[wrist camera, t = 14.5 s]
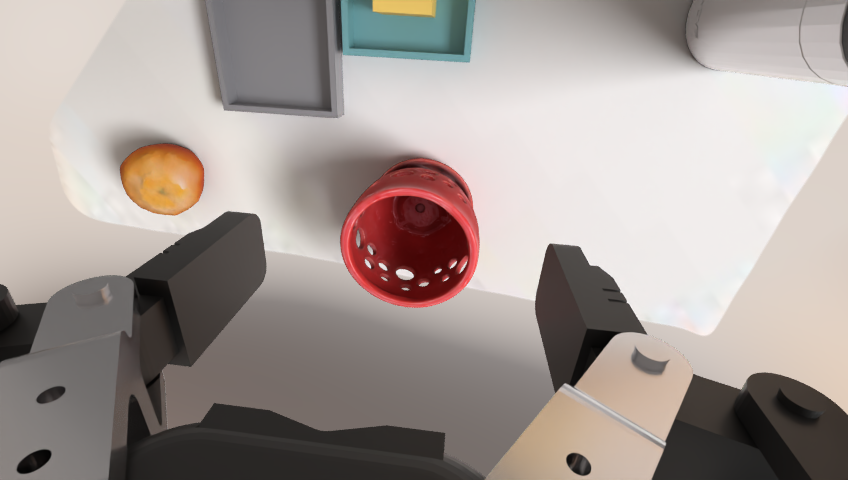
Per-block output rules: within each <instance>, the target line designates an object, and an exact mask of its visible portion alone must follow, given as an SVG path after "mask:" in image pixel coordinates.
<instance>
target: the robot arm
mask: <svg viewBox="0 0 848 480" xmlns="http://www.w3.org/2000/svg"><path fill="white" fill-rule="evenodd" d="M686 39H687V44H688V47H689V49H690V51H691V53H692V55H693V56H694V58H695V59H696V60H697V61H698V62H699V63H701V64H702V65H704V66H706V67H707V68H711V69H714V70H719V71H727V72H735V73H742V74H750V75H758V76H766V77H774V78H782V79H790V80H798V81H806V82H815V83H823V84H831V85H839V86H847V87H848V0H693V3H692V5H691V8H690V10H689V13H688V18H687V22H686ZM265 274H266V258H265V251H264V243H263V236H262V229H261V223H260V219H259V217H258V216H257V215H256V214H250V213H240V212H230V211H228V212H225V213H224V214H222V215H221V216H220V217H218V218H217V219H215V220H214V221H212V222H211V223H210V224H208V225H207V226H205V227H204V228H202V229H199V230H196V231H194V232H191V233H189V234H187V235H186V236H184V237H183V238H181V239H180V240H178V241H177V242H175V244H174V245H171V246H170V247H168V248H167V249H165V250H164V251H163V253H159V254H158V255H157V256H155V257H154V258H152V259H151V260H149V261H148V262H146V263H145V264H143V265H142V266H141V267H139V268H138V269H136V270H135V271H133V272H132V273H130V274H129V275H127V276H126V277H123V276H117V275H112V276H111V275H109V276H99V277H94V278H89V279H86V280H82V281H79V282H76V283H74V284H71V285H69V286H67V287H65V288H63V289H61V290H60V291H58V292H57V293H55V294H54V295H53V296H52V297H51V298H50V299H49V300H48V302H47V303H36V304H25V305H15V303H14V301H13V299H12V297H11V295H10V293H9V291H8V289H7V287H5V286H4V285H1V284H0V480H651V479H652V480H848V415H847V414H846V413H845V412H844V411H843V410H842V409H841V408H840V407H839V406H838V405H837V404H836V403H834V402H833V401H832V400H831V399H829V398H828V397H826V396H825V395H823V394H822V393H820V392H818V391H817V390H815V389H813V388H811V387H810V386H808V385H805V384H803V383H801V382H799V381H797V380H794V379H791V378H789V377H785V376H782V375H778V374H773V373H756V374H753V375H751V376H750V377H749V378H748V379H747V381H746V383H745V384H744V386H743V388H742V389H741V390H740V389H737V388H734V387H731V386H728V385H725V384H721V383H718V382H715V381H712V380H709V379H706V378H703V377H700V376H697V375H695V374H693V369H692V367H691V365H690V363H689V361H688V360H687V359H686V358H685V357H684V355H682V354H681V353H680V352H679V351H678V350H676V349H675V348H674V347H672V346H671V345H669V344H668V343H666V342H664V341H662V340H660V339H657V338H655V337H652V336H649V335H647V333H646V332H645V330H644V328H643V327H642V325H641V323H640V322H639V320H638V318H637V317H636V315H635V313H634V312H633V310H632V309H631V307H630V305H629V304H628V303H627V300H626V299H625V297H624V295H623V294H622V293H620V289H619V287H618V286H617V284H616V282H615V281H614V279H613V278H612V277H611V276H610V275H609V274H607V273H606V272H605V271H603V270H602V269H601V268H600V267H598V266H590V265H589V263H588V261H587V259H586V257H585V256H584V254H583V252H582V250H581V248H580V247H579V246H571V245H560V244H549V245H548V247H547V250H546V253H545V258H544V262H543V267H542V271H541V275H540V280H539V284H538V289H537V293H536V301H535V310H536V317H537V321H538V325H539V329H540V334H541V338H542V342H543V346H544V350H545V354H546V358H547V362H548V366H549V370H550V374H551V378H552V382H553V386H554V390H555V395H554V396H553V397H552V398H551V400H550V401H549V402H548V403H547V404H546V406H545V407H544V408H543V410H541V412H540V413H539V414H538V415H537V416H536V418H535V419H534V420H533V421H532V423H531V424H530V425H529V426H528V427H527V429H526V430H525V431H524V432H523V434H522V435H521V436H520V437H519V438H518V440H517V441H516V442H515V443H514V444H513V446H512V447H511V448H510V449H509V451H508V452H507V453H506V454H505V455H504V457H503V458H502V459H501V460H500V461H499V463H498V464H497V465H496V466H495V467H494V469H493V470H492V471H491V472H490V473H489V475H488V476H487V477H484V476H483V475H482V474H481V473H480V472H478V471H477V470H475V469H474V468H472V467H471V466H470V465H468V464H466V463H465V462H463V461H461V460H459V459H457V458H455V457H453V456H451V455H448V454H446V453H444V442H445V433H441V432H433V431H425V430H417V429H410V428H402V427H394V426H377V427H368V428H357V429H348V430H338V431H319V430H316V429H313V428H311V427H309V426H306V425H304V424H302V423H299V422H297V421H294V420H291V419H289V418H287V417H284V416H282V415H280V414H277V413H275V412H272V411H270V410H263V409H255V408H247V407H240V406H232V405H224V404H216V403H214V404H213V406H212V407H211V409H210V410H209V411H208V413H207V414H206V416H205V417H204V419H203V420H202V421H201V422H200V423H193V424H188V425H183V426H178V427H175V428H172V429H167V410H166V392H165V379H164V376H163V372H162V369H163V368H164V367H165V366H166V365H167V364H174V365H181V366H189V367H191V366H192V365H193V364H194V363H195V362H196V360H197V359H198V358H199V357H200V356H201V354H202V353H203V352H204V351H205V350H206V348H207V347H208V346H209V345H210V344H211V343H212V342H213V340H214V339H215V338H216V337H217V336H218V335H219V333H220V332H221V331H222V330H223V329H224V327H225V326H226V325H227V324H228V323H229V322H230V320H231V319H232V318H233V317H234V316H235V314H236V313H237V312H238V311H239V310H240V309H241V307H242V306H243V305H244V304H245V303H246V302H247V300H248V299H249V298H250V297H251V296H252V295H253V293H254V292H255V291H256V290H257V289H258V287H259V286H260V285H261V284H262V282H263V280H264V277H265Z"/></svg>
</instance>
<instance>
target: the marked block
mask: <svg viewBox="0 0 848 480" xmlns="http://www.w3.org/2000/svg"><path fill="white" fill-rule="evenodd" d="M373 12H377V13H380V14H383V15H398V16H415V17H431V18H435V16H436V0H373Z"/></svg>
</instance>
